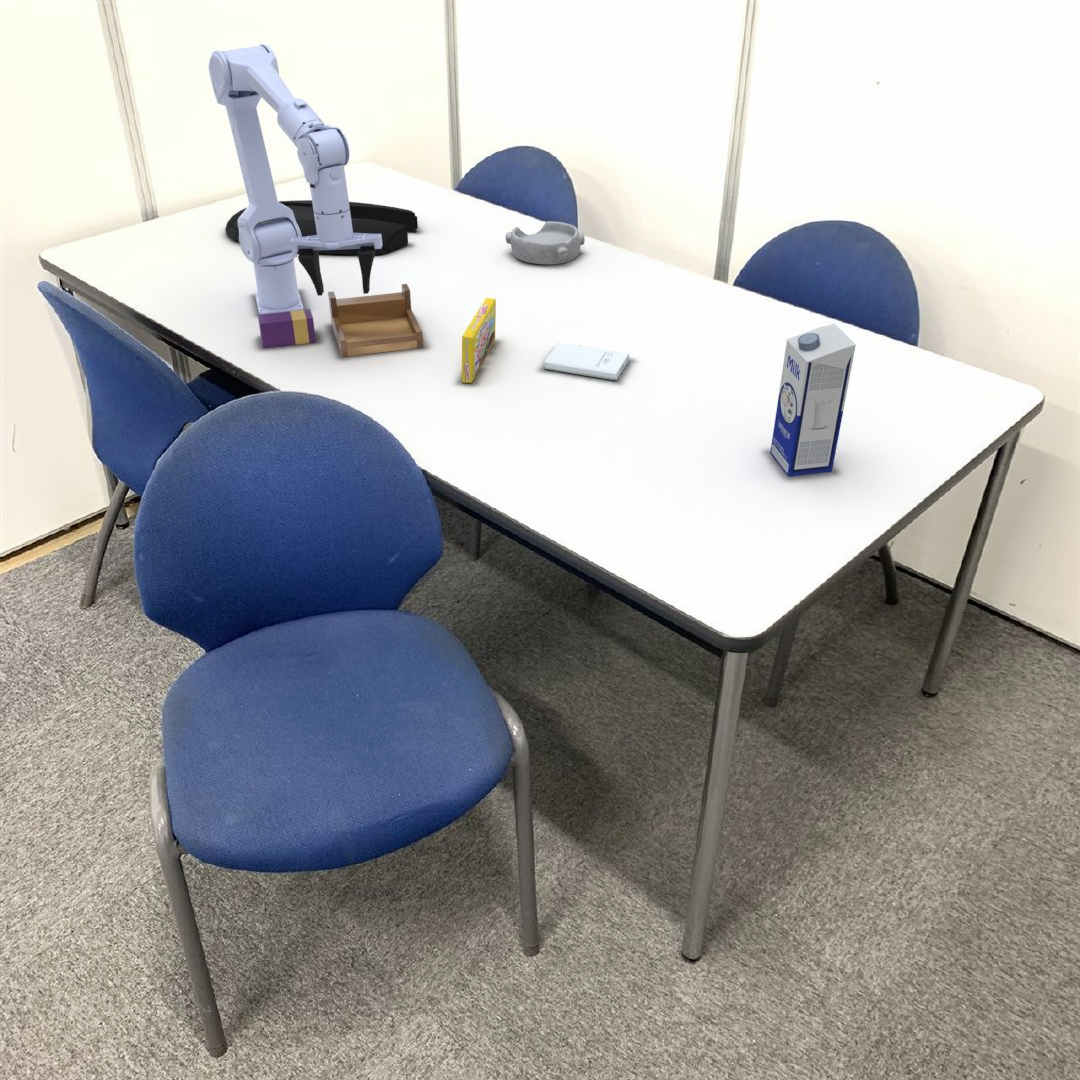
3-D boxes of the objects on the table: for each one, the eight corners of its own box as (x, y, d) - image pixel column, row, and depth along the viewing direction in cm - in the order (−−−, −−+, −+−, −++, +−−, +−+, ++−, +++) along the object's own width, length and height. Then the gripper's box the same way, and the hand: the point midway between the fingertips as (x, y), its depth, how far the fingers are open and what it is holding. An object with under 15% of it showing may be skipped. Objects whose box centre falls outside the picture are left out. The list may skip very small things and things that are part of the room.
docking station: (249, 209, 247) (246, 186, 244) (426, 219, 243) (425, 196, 240) (207, 248, 227) (203, 224, 224) (399, 260, 222) (397, 236, 220)
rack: (331, 326, 196) (327, 291, 192) (409, 317, 199) (406, 283, 196) (341, 357, 186) (338, 321, 182) (423, 347, 189) (421, 312, 186)
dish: (498, 256, 225) (497, 232, 222) (542, 238, 233) (542, 214, 230) (552, 273, 217) (552, 249, 214) (595, 254, 226) (596, 230, 223)
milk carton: (832, 472, 157) (856, 343, 145) (788, 477, 156) (809, 347, 144) (812, 447, 163) (834, 321, 151) (769, 452, 161) (788, 325, 150)
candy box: (473, 384, 178) (472, 337, 173) (461, 383, 179) (459, 336, 174) (497, 342, 191) (496, 297, 186) (485, 341, 192) (484, 296, 187)
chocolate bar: (261, 338, 192) (257, 314, 189) (313, 332, 194) (310, 308, 191) (263, 348, 189) (259, 324, 186) (316, 342, 191) (313, 318, 188)
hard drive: (559, 350, 189) (629, 360, 186) (543, 370, 183) (616, 381, 179) (559, 341, 188) (629, 351, 185) (543, 361, 182) (616, 372, 178)
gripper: (281, 218, 172) (295, 302, 179) (373, 214, 171) (384, 298, 178) (290, 206, 178) (303, 288, 185) (379, 202, 177) (389, 284, 184)
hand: (343, 292), depth 182 cm, fingers open, 7 cm apart
